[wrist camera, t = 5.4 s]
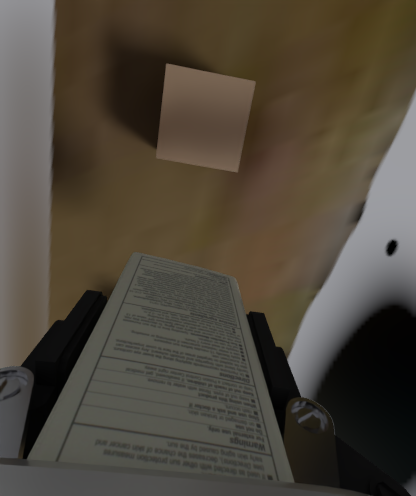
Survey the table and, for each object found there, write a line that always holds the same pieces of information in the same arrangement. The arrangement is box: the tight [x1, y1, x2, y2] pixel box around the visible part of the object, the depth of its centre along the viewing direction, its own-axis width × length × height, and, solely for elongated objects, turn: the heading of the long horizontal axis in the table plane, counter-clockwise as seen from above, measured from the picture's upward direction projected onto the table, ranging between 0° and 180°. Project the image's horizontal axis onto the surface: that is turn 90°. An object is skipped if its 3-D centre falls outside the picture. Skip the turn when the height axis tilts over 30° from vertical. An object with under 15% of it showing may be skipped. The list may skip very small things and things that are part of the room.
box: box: [27, 252, 294, 483], centre depth 9 cm, size 5×4×11 cm
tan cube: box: [156, 63, 256, 172], centre depth 20 cm, size 5×5×5 cm
